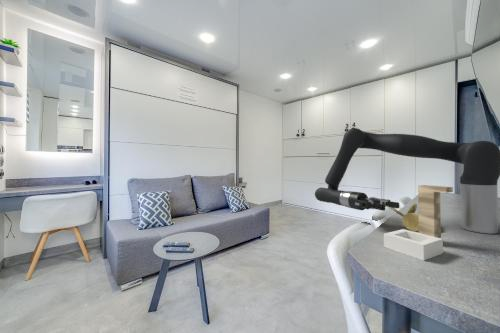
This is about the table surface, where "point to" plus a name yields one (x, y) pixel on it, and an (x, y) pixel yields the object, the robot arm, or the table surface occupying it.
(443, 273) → the table surface
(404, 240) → the square well
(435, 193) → the wooden l-shaped block
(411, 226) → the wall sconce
